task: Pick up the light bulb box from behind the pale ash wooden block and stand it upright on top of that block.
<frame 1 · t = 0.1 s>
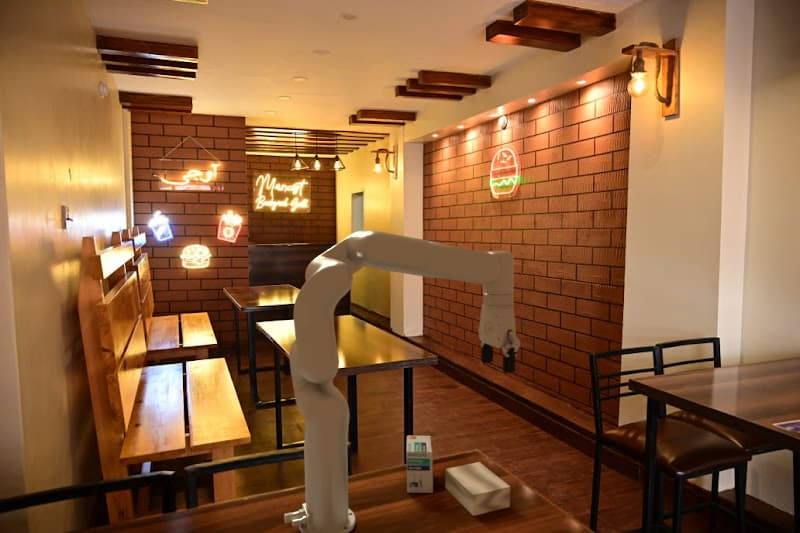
hand: (497, 366, 132), 31 cm above the table, tool pointing down, fingers open, 9 cm apart
light bulb box: (419, 483, 136), on the table
ash block: (476, 496, 129), on the table
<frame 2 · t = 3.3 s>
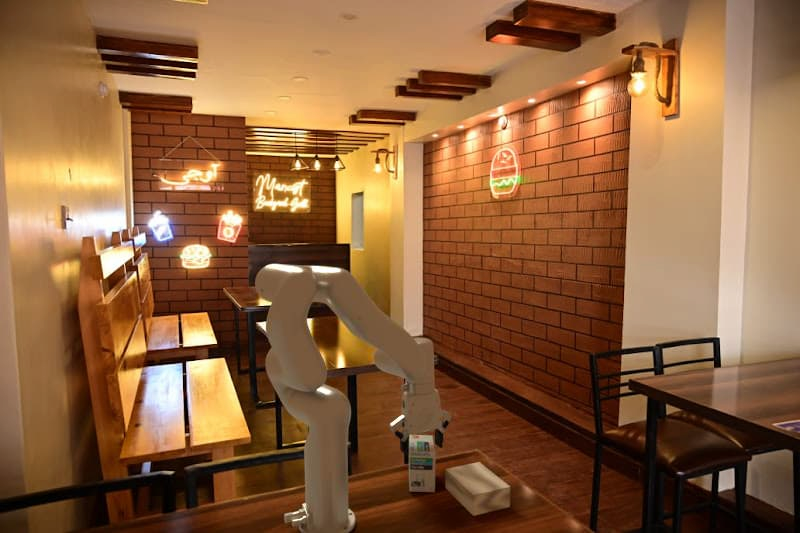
hand: (422, 449, 136), 9 cm above the table, tool pointing down, fingers open, 9 cm apart
nothing on the table moved.
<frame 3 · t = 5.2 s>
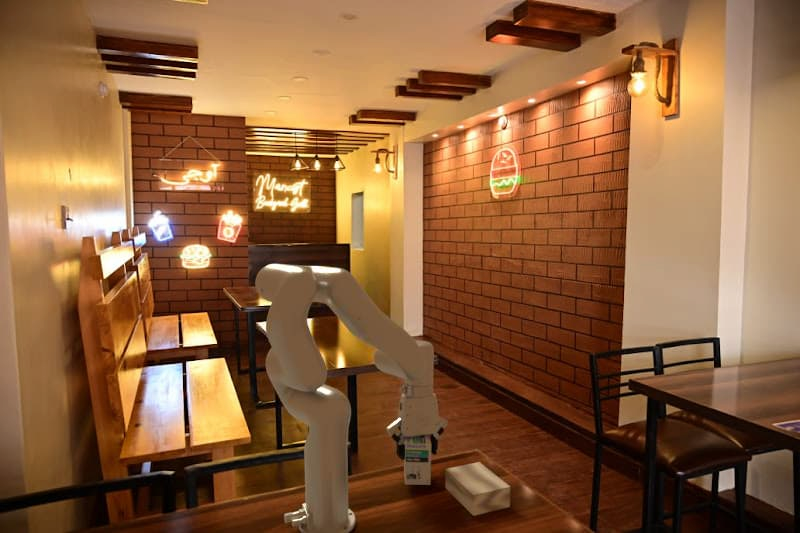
hand: (417, 455, 135), 8 cm above the table, tool pointing down, fingers closed on light bulb box, 8 cm apart
light bulb box: (416, 476, 135), point 2 cm above the table, touching gripper
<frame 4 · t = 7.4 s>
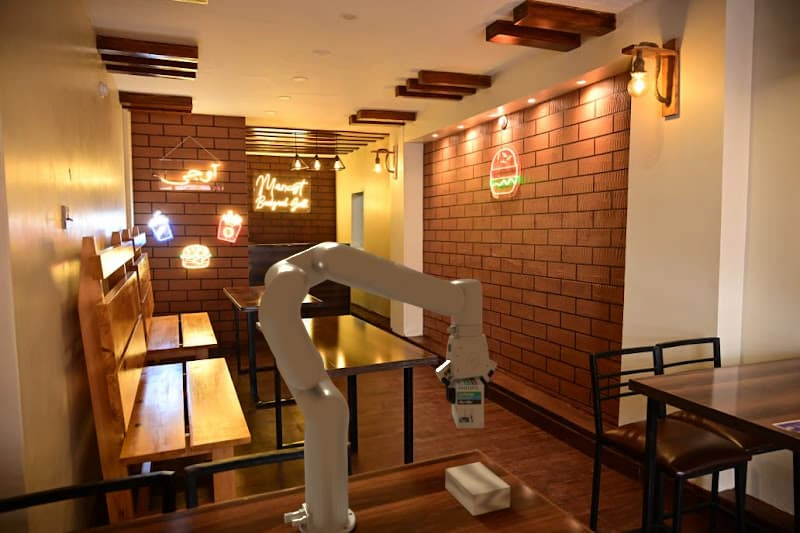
hand: (467, 399, 128), 24 cm above the table, tool pointing down, fingers closed on light bulb box, 8 cm apart
light bulb box: (467, 421, 129), point 19 cm above the table, touching gripper
when the fingers open (11 cm above the table, at t = 11.0 s): light bulb box moves 1 cm, resting on ash block.
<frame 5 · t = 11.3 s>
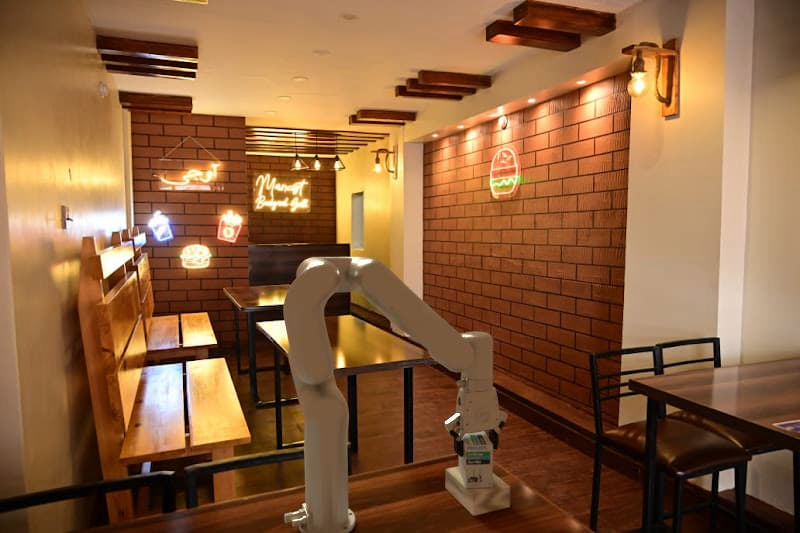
hand: (476, 451, 128), 12 cm above the table, tool pointing down, fingers open, 9 cm apart
light bulb box: (474, 478, 128), point 5 cm above the table, touching ash block, gripper
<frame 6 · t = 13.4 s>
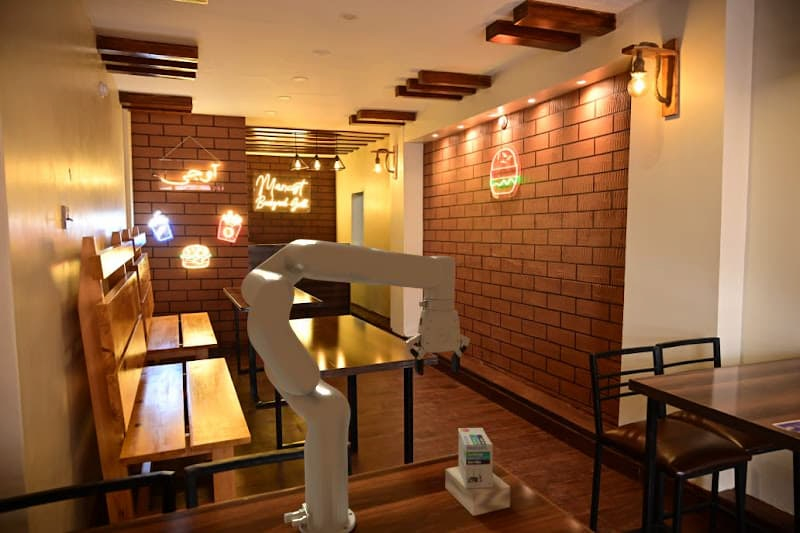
hand: (437, 372, 131), 30 cm above the table, tool pointing down, fingers open, 9 cm apart
light bulb box: (474, 478, 128), point 5 cm above the table, touching ash block
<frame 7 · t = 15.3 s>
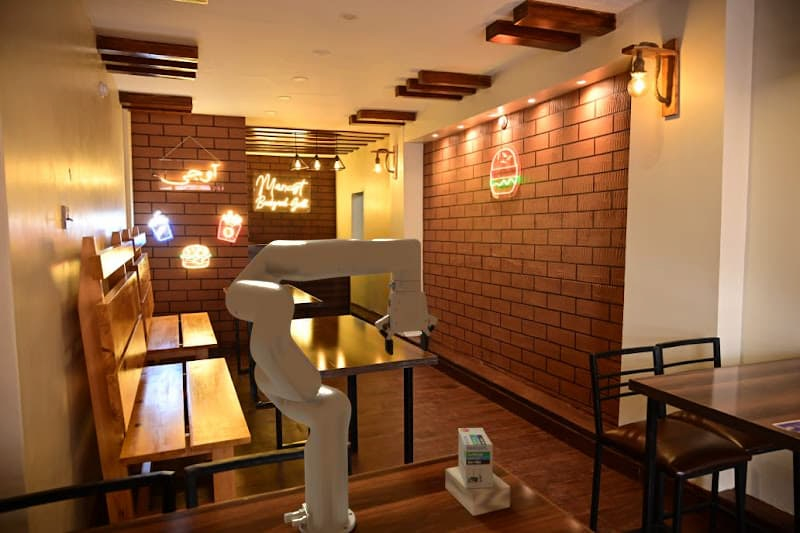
hand: (407, 352, 135), 34 cm above the table, tool pointing down, fingers open, 9 cm apart
nothing on the table moved.
at the end: light bulb box 0.6 cm off-centre on the ash block, point 4.8 cm above the ash block's base; light bulb box tilted 0°; the gripper is holding nothing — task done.
